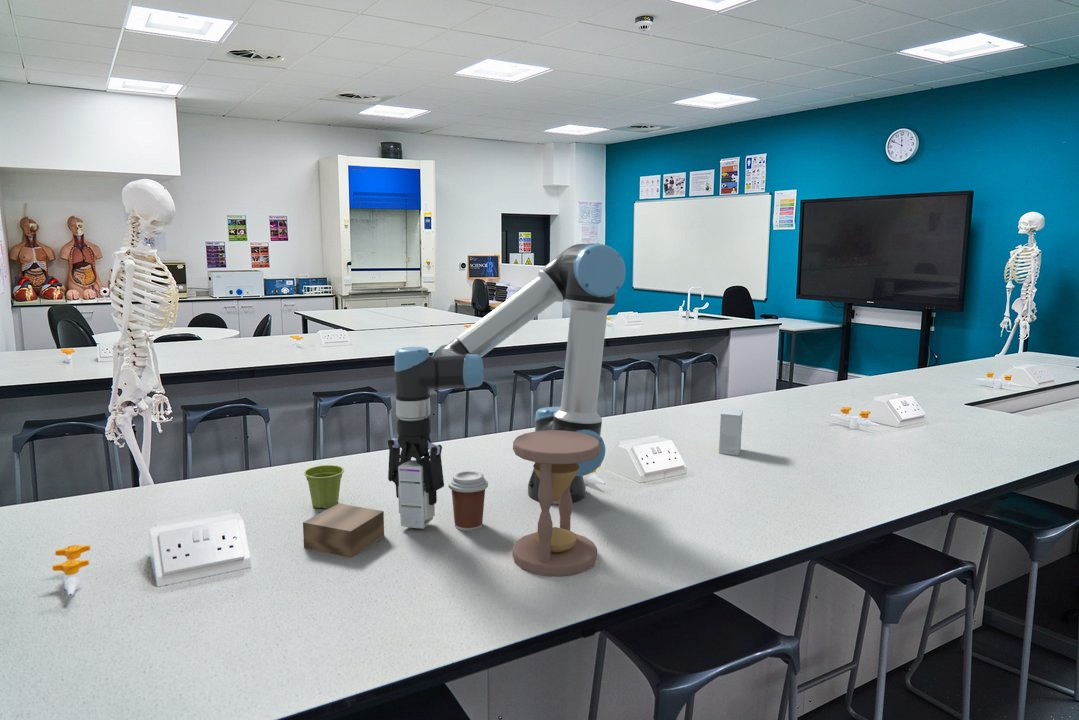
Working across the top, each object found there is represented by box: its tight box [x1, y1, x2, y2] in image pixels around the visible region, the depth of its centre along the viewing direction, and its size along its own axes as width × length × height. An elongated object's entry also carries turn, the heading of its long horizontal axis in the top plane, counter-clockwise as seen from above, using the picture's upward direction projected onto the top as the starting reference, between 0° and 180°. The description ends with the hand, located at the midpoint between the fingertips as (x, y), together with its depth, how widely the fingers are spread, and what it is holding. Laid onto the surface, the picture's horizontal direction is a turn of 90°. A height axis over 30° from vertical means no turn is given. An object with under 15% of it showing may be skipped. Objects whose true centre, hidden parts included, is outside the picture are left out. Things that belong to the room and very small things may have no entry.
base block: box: [302, 503, 385, 559], centre depth 150 cm, size 12×12×6 cm
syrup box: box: [398, 458, 434, 529], centre depth 158 cm, size 6×6×14 cm
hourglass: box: [511, 430, 600, 577], centre depth 142 cm, size 18×18×25 cm
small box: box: [718, 408, 744, 456], centre depth 222 cm, size 8×6×13 cm
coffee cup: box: [448, 470, 489, 532], centre depth 160 cm, size 9×9×12 cm
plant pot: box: [303, 464, 345, 509], centre depth 172 cm, size 9×9×9 cm
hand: (416, 514), depth 159 cm, fingers closed on syrup box, 7 cm apart
